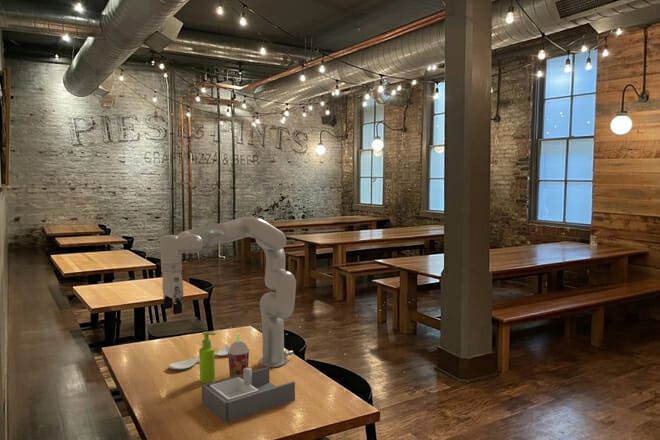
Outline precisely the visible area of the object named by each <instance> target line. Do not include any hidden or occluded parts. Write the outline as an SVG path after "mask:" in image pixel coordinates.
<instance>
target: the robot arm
mask: <svg viewBox="0 0 660 440" xmlns="http://www.w3.org/2000/svg"><path fill="white" fill-rule="evenodd" d="M246 238H253V239H255V242H256V244H257V245H258V246H259V247H260V248H261V249H263V252H264V254H265V270H264V271H265V272H264V283H265V286H266V288H268V289H269V290H273V291H275V292H273V291H269V292H266V293H264V294H263V295H262V296H261V298H260V300H259V309H260V314H261V315H260V316H261V328H262V329H261V330H262V331H261V332H262V333H261V337H262V338H261V341H262V357H261V358H259V360H258V361H259V362H258V364H259V365H260V366H262V367H264V368H266V367H269V368H279V367H282V366H285V365H287V363H288V361H289V359H288V358H287V357H288V356H291V355H294V350H287V349H285V334H284V333H285V331H284V328H285V325H284V324H285V323H284V319H288V318H289V317H291V315H292V314H293V312H294V308H295V302H296V290H297V280H296V278H295V276H294V274H293V273H292V272H290V271H288V270H286V253H285V250H284V248H285V246H286V244H287V237H286V235H285V233H284V232H283V231H281V230H280V229H278V228H277V227H275V226H273V225H272V224H271V223H268V221H265V220H264V219H262V218H260V217H254V216H243V217H239V218H236V219H232V220H228V221H224V222H219V223H214V224H211V225H206V226H199V227H195V228H191V229H188V230H184V231H181V232H179V233H178V234H165V235H162V236H161V237H160V239H159V243H160V246H159V247H160V248H159V249H160V267H161V268H160V269H161V270H160V271H161V273H162V295H163V297H162V298H163V309H164V310H169V309H173V311H172V313H173V315H181V314H183V297H184V294H185V292H184V280H183V274H182V270H183V269H182V266H183V265H182V264H183V263H182V254H195V253H198V252H200V251H201V250H202V249H203V247H204V245H205V246H206V245H223V244H228V243H233V242H235V241H238V240H241V239H246Z"/></svg>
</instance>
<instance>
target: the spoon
mask: <svg viewBox="0 0 660 440" xmlns="http://www.w3.org/2000/svg"><path fill="white" fill-rule="evenodd" d="M229 348H230V346H229V345H228V344H225V345H224V346H223V347H222V348H221V349H219V350H218V351H217V352H214V356H217V357H225V356H228V350H229ZM199 360H200V358H199V356H196V357H194V358H190V359H186V360H180V361H177V362H173V363H169V364H168V367H169V368H170V369H171V370H186V369H189V368H192V367H193V366H195V365H196V363H197V362H198V361H199Z"/></svg>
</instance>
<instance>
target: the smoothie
mask: <svg viewBox="0 0 660 440" xmlns="http://www.w3.org/2000/svg"><path fill="white" fill-rule="evenodd" d="M236 337H237V341H234V342H233V343H232V344H231V345H230V346H229V350H228V355H227V357H228V358H227V359H228V366H229V367H228V369H229V370H228V371H229V378H230V377H233V376H237V375H241V374H243V369H244V368H249V361H250V360H249V358H250V357H249V356H250V349H249V348H248V345H247V344H246V343H245V342H243V341H240V334H237V335H236Z"/></svg>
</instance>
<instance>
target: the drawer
mask: <svg viewBox="0 0 660 440" xmlns="http://www.w3.org/2000/svg"><path fill="white" fill-rule="evenodd" d="M252 371H253V370H252V368H251V367H248V368H244V369H243V379H241V378H240V377H237V378H234V379H230V380H226V381H223V382H219V383H216V384H212V385H209V388H210V389H211V390H212V391H214V392H215V393H216V394H218V395H219V396H220V397H222V398H223V399H224V400H226V401H231V400H234V399H237V398H240V397H244V396H247V395H250V394H253V393H257V392H259V390H258V389H257V388H255V387H254V386H252V385H251V384H252Z"/></svg>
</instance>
